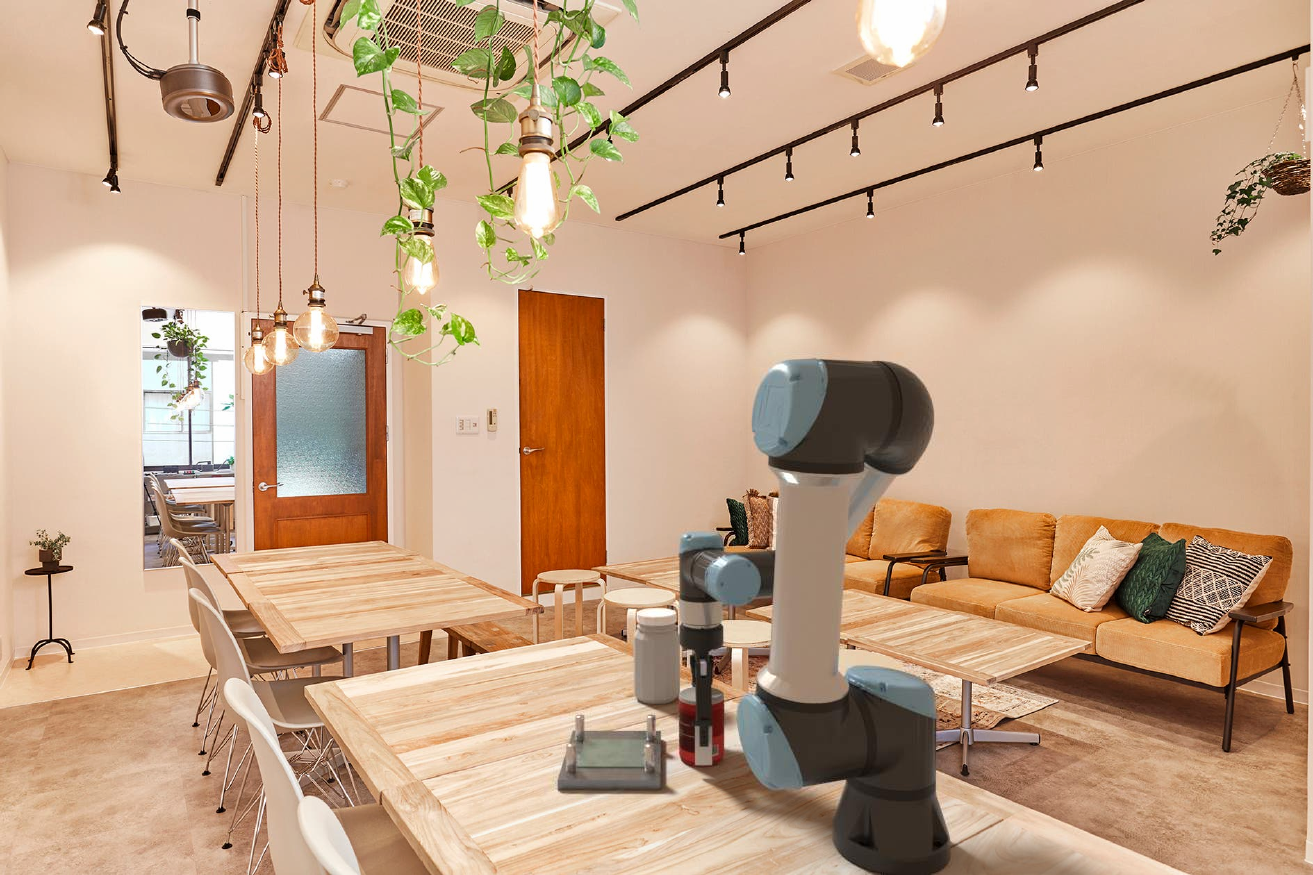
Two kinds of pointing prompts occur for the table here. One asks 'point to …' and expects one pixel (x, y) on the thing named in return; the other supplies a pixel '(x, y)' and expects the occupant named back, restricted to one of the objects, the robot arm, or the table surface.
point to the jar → (656, 656)
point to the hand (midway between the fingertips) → (701, 747)
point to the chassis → (612, 759)
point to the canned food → (688, 731)
